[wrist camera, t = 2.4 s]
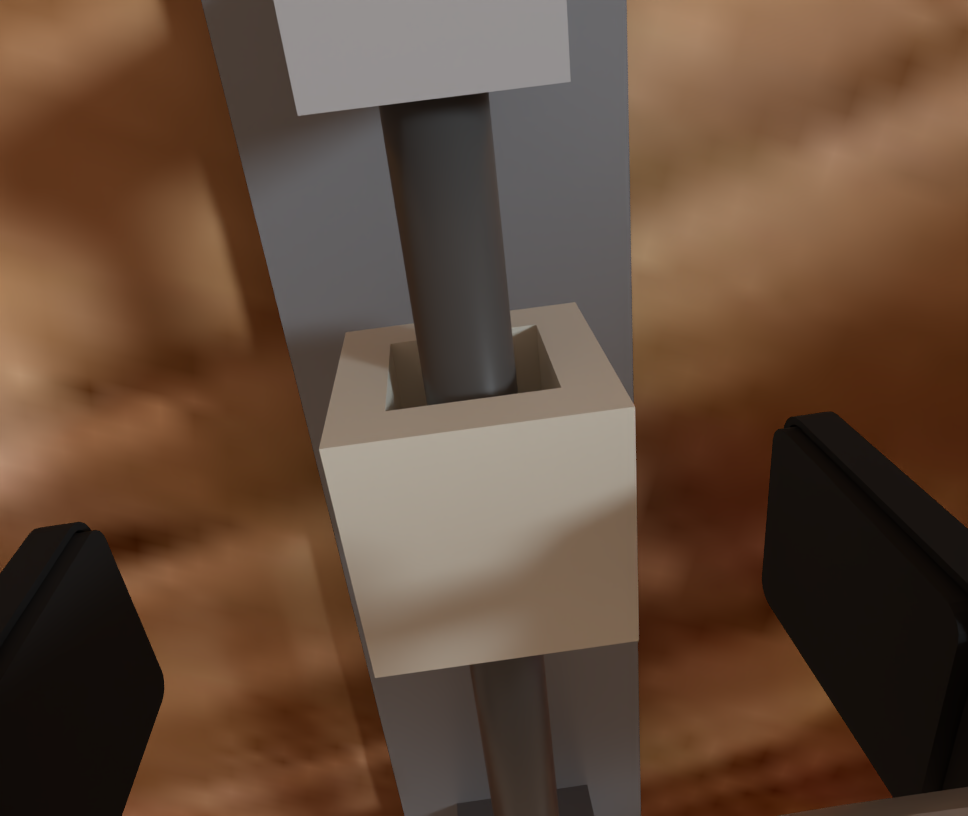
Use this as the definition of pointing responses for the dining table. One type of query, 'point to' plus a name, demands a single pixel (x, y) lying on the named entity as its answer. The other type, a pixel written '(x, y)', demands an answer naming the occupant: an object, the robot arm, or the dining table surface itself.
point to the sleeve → (485, 500)
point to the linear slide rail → (451, 302)
